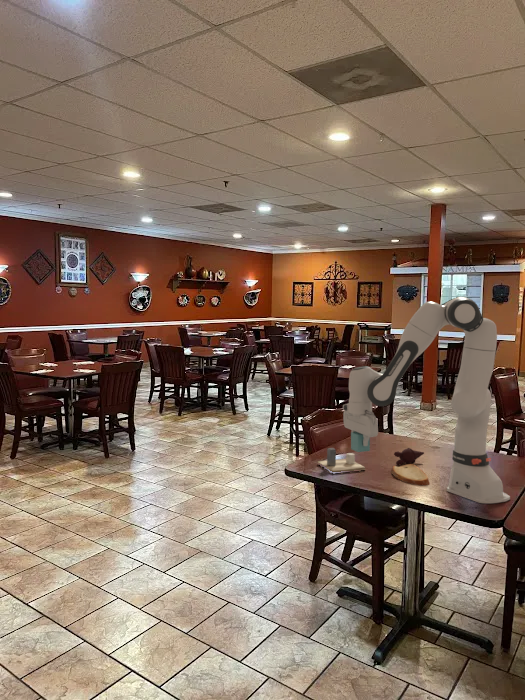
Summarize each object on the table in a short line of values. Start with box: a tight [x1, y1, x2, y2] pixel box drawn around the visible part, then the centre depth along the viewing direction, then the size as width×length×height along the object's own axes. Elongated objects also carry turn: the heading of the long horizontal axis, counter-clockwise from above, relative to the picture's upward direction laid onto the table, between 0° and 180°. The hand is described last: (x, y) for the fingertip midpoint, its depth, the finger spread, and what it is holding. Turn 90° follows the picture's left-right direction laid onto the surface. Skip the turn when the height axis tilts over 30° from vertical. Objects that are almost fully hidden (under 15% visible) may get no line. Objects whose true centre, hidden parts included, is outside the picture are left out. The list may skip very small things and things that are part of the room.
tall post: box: [326, 447, 337, 466], centre depth 227 cm, size 3×3×7 cm
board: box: [316, 458, 366, 472], centre depth 229 cm, size 14×15×2 cm
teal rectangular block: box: [350, 431, 371, 453], centre depth 211 cm, size 5×5×7 cm
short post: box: [345, 452, 356, 464], centre depth 230 cm, size 3×3×4 cm
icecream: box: [393, 447, 425, 466], centre depth 236 cm, size 7×7×15 cm
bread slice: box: [390, 463, 430, 486], centre depth 218 cm, size 18×18×4 cm
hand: (360, 443), depth 211 cm, fingers closed on teal rectangular block, 5 cm apart
